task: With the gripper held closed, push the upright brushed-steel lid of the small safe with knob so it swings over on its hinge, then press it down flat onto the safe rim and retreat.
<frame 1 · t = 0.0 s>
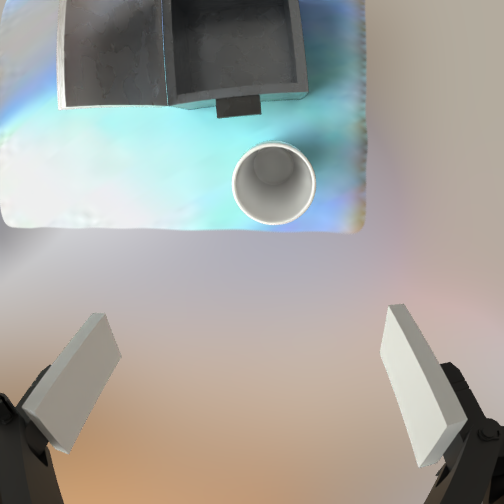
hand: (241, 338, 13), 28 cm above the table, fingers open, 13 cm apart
lid: (110, 36, 19), point 15 cm above the table, hinge at 100.0°
white hollow cylinder: (273, 163, 37), on the table
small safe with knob: (239, 51, 32), on the table
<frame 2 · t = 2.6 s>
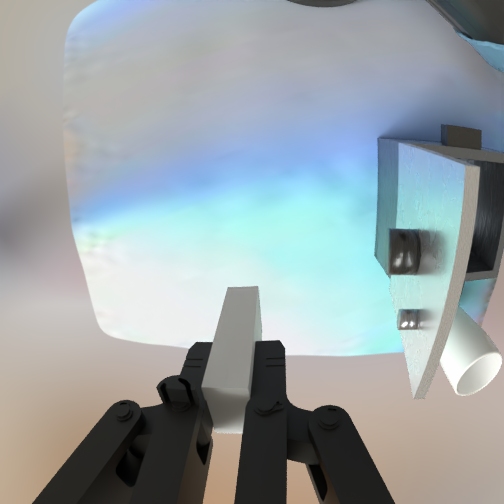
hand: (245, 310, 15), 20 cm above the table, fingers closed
lid: (406, 252, 19), point 15 cm above the table, hinge at 100.0°
white hollow cylinder: (431, 302, 38), on the table
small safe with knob: (429, 199, 32), on the table
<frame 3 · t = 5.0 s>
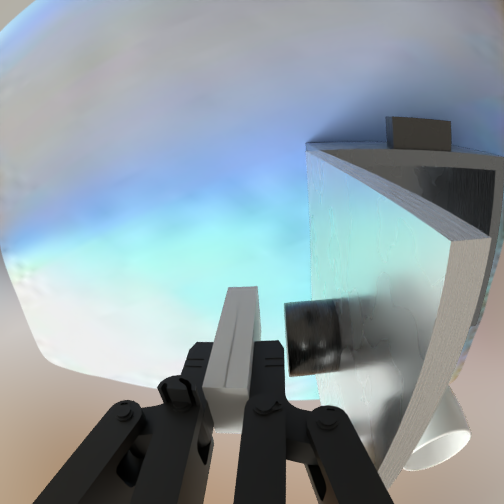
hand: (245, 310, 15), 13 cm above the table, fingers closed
lid: (319, 337, 13), point 15 cm above the table, hinge at 87.2°, touching gripper, hand
white hollow cylinder: (395, 344, 31), on the table
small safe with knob: (385, 219, 26), on the table
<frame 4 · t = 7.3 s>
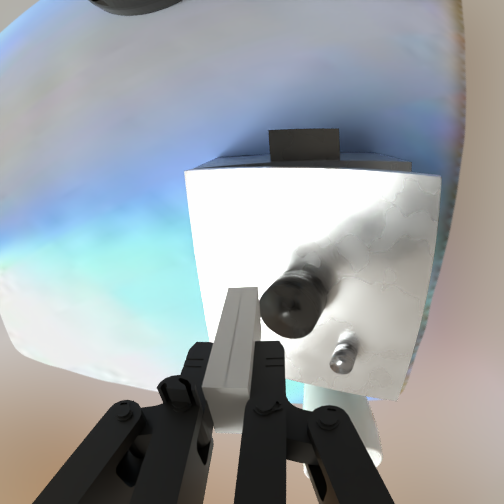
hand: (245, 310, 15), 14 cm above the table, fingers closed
lid: (296, 300, 17), point 12 cm above the table, hinge at 23.4°
white hollow cylinder: (325, 354, 33), on the table
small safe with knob: (300, 230, 28), on the table
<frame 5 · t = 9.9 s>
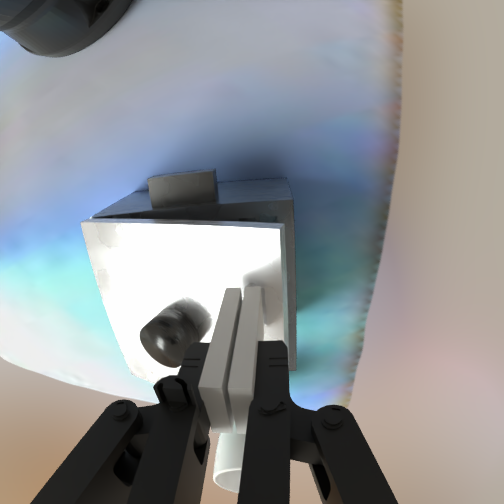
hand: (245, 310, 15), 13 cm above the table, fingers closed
lid: (172, 334, 18), point 12 cm above the table, hinge at 18.3°, touching gripper
white hollow cylinder: (258, 369, 35), on the table
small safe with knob: (215, 257, 29), on the table
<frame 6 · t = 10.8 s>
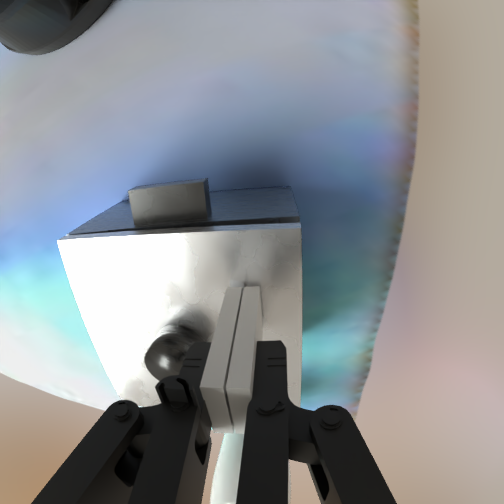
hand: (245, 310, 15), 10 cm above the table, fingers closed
lid: (178, 352, 17), point 10 cm above the table, hinge at 3.6°, touching gripper
white hollow cylinder: (258, 390, 32), on the table
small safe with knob: (210, 274, 26), on the table
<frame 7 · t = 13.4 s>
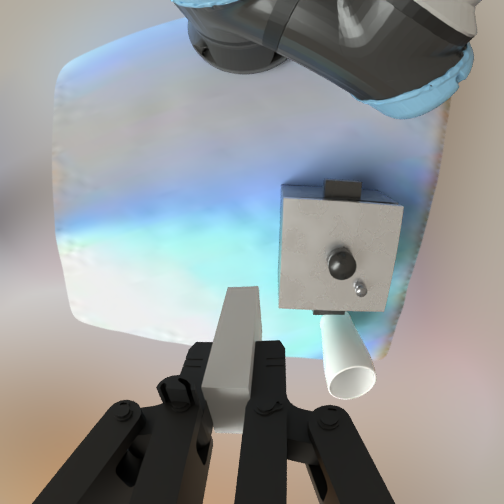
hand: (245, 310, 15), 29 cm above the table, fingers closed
lid: (340, 262, 35), point 10 cm above the table, hinge at 3.4°
white hollow cylinder: (334, 319, 50), on the table
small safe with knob: (327, 234, 44), on the table
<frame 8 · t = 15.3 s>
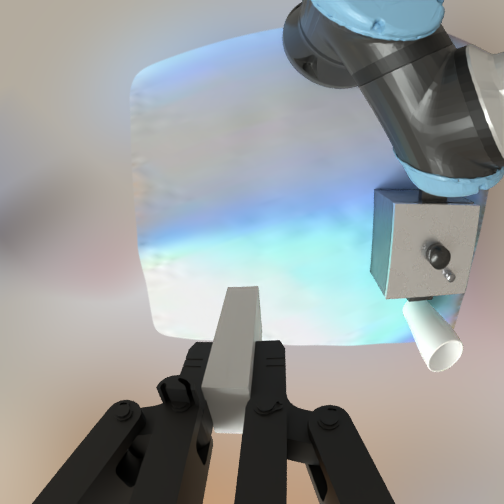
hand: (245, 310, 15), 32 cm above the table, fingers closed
lid: (437, 254, 37), point 10 cm above the table, hinge at 3.4°
white hollow cylinder: (413, 305, 52), on the table
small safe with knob: (410, 230, 46), on the table
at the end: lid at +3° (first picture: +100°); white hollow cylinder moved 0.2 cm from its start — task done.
